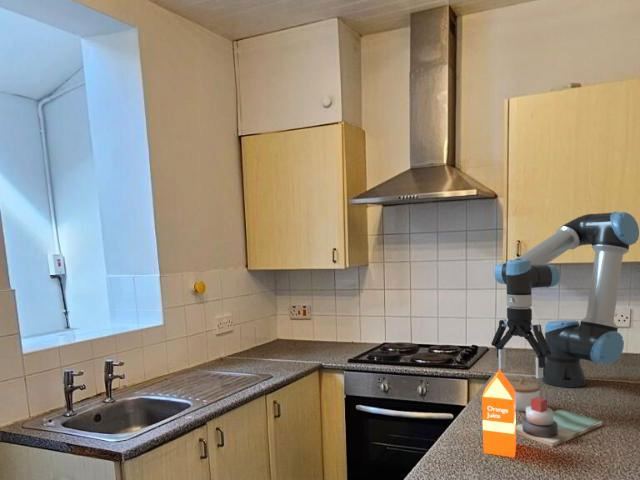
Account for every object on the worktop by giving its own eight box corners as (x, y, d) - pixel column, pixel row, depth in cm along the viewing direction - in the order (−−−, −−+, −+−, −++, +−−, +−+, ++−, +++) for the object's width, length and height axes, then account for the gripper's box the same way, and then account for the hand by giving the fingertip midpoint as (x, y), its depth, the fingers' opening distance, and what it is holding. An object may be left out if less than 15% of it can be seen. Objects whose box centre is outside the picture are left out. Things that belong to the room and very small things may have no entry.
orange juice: (483, 452, 127) (480, 375, 127) (486, 439, 135) (484, 367, 135) (515, 457, 123) (513, 378, 123) (517, 444, 131) (515, 369, 131)
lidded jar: (510, 400, 166) (510, 373, 166) (544, 406, 159) (543, 378, 159) (499, 409, 158) (498, 380, 158) (534, 416, 151) (533, 386, 151)
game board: (559, 412, 153) (559, 401, 153) (602, 425, 142) (602, 413, 142) (509, 431, 140) (509, 419, 140) (552, 446, 129) (552, 433, 129)
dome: (535, 414, 142) (535, 393, 142) (558, 421, 136) (558, 399, 136) (520, 419, 138) (520, 398, 138) (543, 427, 132) (543, 405, 132)
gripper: (480, 304, 167) (481, 366, 167) (548, 312, 146) (549, 383, 146) (494, 302, 171) (495, 363, 171) (562, 310, 150) (563, 379, 150)
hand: (520, 373), depth 158 cm, fingers open, 13 cm apart
